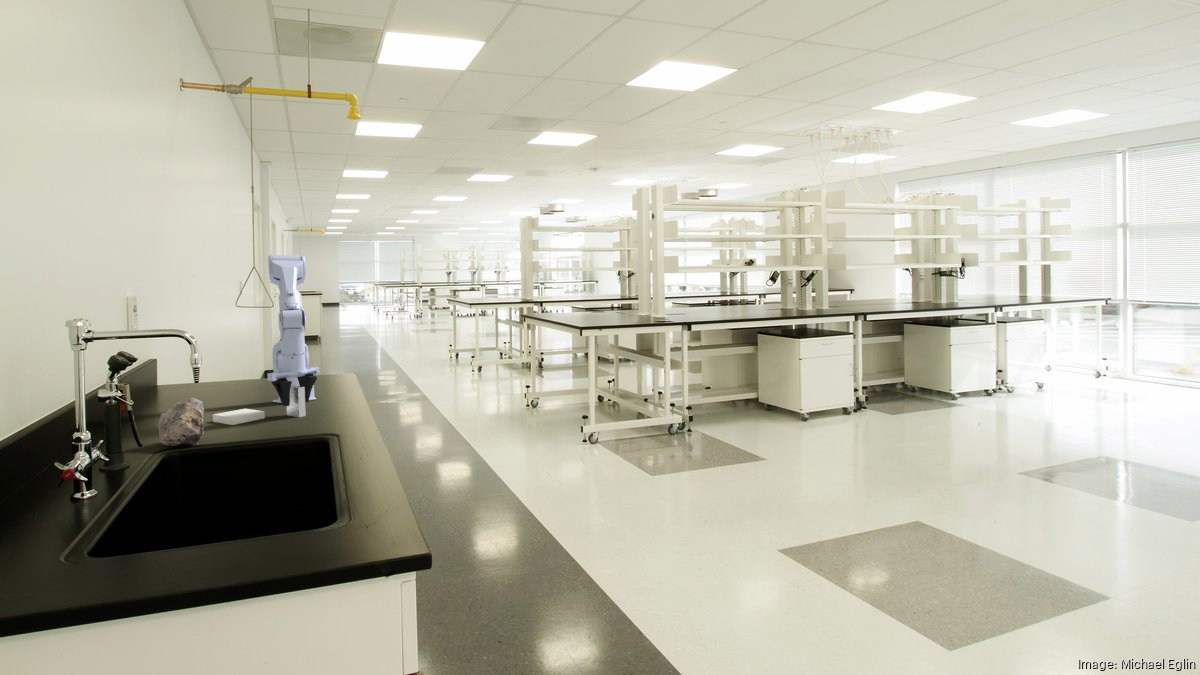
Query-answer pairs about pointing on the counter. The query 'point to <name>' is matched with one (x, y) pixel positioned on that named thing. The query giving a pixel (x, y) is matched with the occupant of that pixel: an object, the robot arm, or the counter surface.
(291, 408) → the pale grey upright block
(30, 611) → the counter surface
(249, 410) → the tile
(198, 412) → the rock
